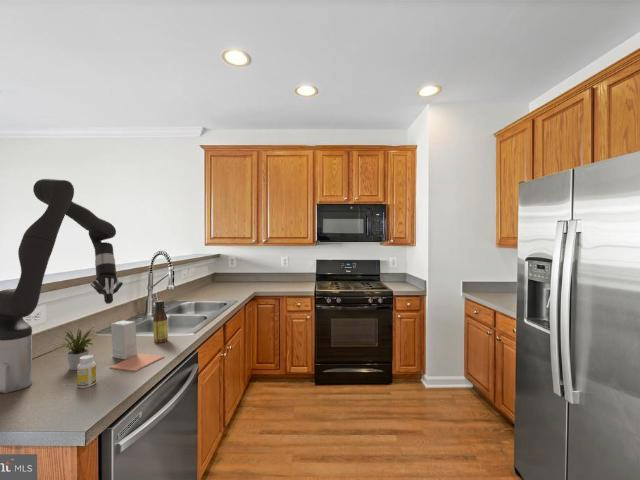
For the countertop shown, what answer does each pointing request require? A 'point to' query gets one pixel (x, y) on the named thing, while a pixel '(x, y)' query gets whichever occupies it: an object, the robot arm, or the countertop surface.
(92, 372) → the supplement bottle
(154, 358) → the plate
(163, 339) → the sauce bottle
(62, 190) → the robot arm
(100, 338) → the countertop surface
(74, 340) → the house plant
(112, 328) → the skincare box
